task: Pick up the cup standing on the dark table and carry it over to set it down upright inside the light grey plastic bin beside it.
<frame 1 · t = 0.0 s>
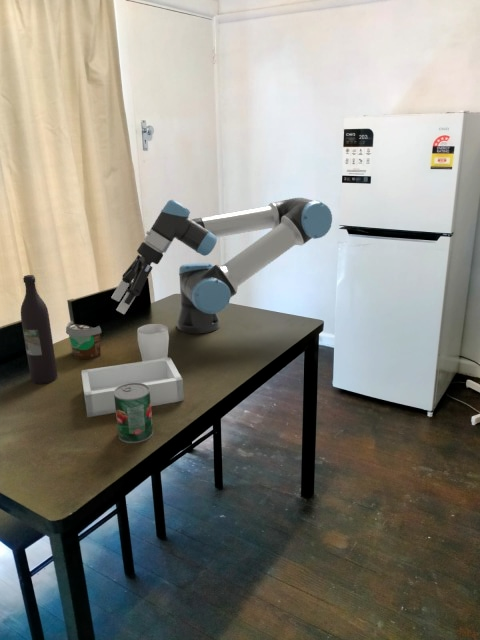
hand: (117, 305, 158), 15 cm above the table, tool tilted 35°, fingers open, 13 cm apart
wine bottle: (44, 379, 144), on the table
food container: (82, 357, 159), on the table
canned tomato: (135, 434, 117), on the table
cup: (155, 367, 151), on the table
bin: (132, 395, 134), on the table
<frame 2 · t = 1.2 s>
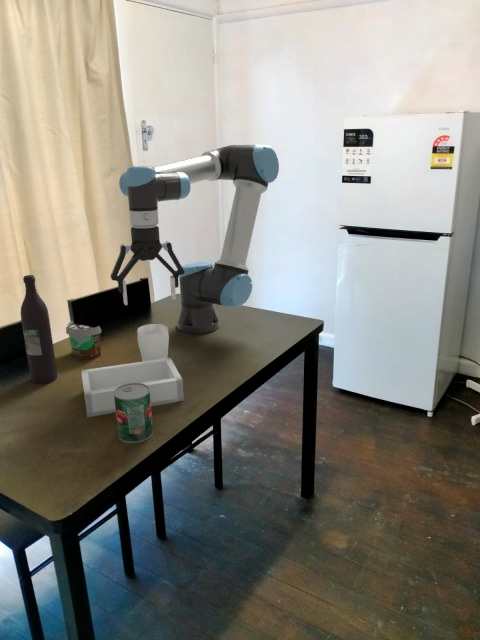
hand: (149, 301, 145), 20 cm above the table, tool pointing down, fingers open, 13 cm apart
nothing on the table moved.
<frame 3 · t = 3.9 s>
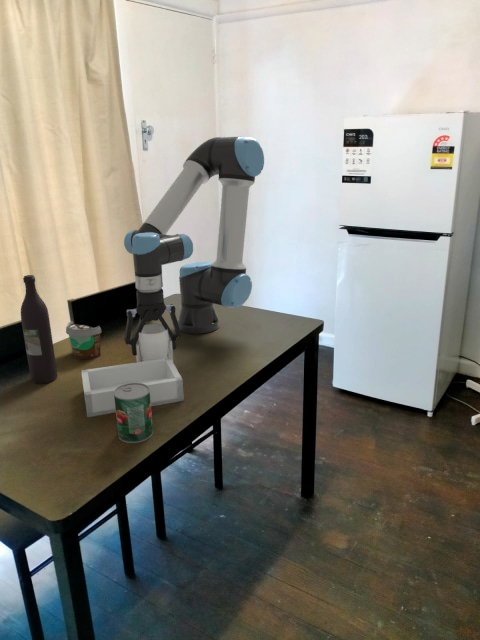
hand: (155, 362, 151), 1 cm above the table, tool pointing down, fingers closed on cup, 9 cm apart
cup: (155, 367, 151), on the table, touching gripper
everything else where it was.
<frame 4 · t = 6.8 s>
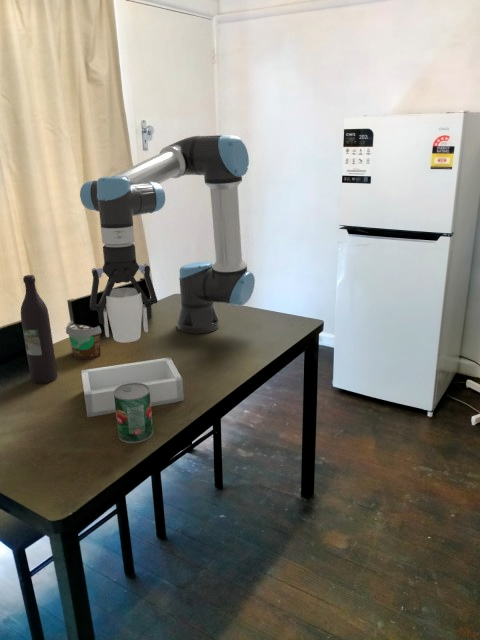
hand: (126, 332, 129), 18 cm above the table, tool pointing down, fingers closed on cup, 9 cm apart
cup: (127, 338, 129), point 16 cm above the table, touching gripper
everything else where it was.
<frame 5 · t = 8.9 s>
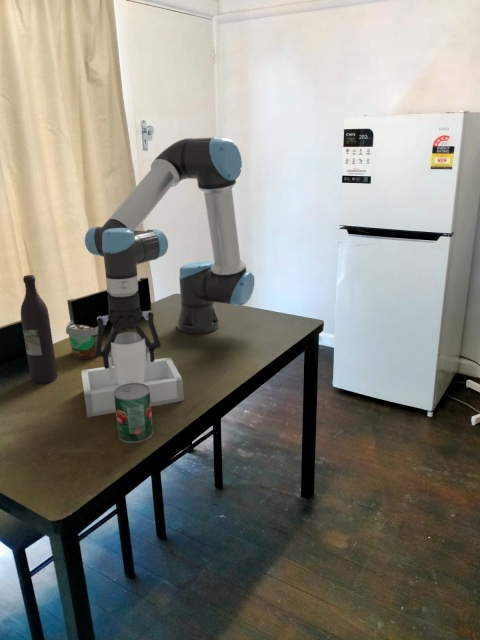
hand: (130, 376, 132), 6 cm above the table, tool pointing down, fingers closed on cup, 9 cm apart
cup: (131, 381, 133), point 4 cm above the table, touching gripper
everything else where it was.
when the fingers open (4 cm above the table, at t = 10.2 s): cup drops 1 cm, resting on bin.
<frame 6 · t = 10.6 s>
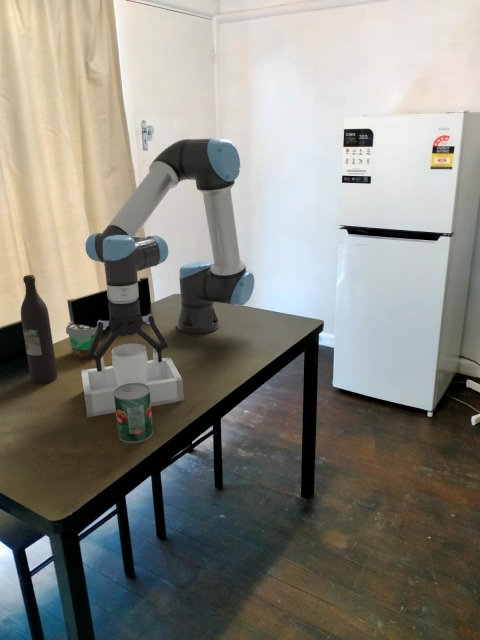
hand: (131, 377, 133), 5 cm above the table, tool pointing down, fingers open, 13 cm apart
cup: (133, 392, 134), point 1 cm above the table, touching bin
everything else where it was.
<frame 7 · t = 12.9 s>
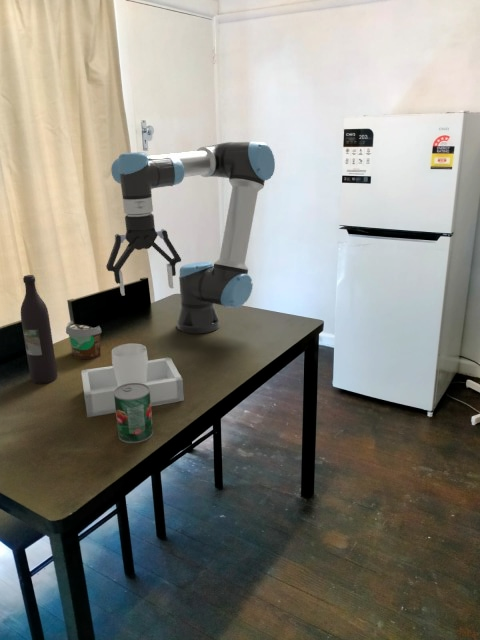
hand: (147, 290, 142), 24 cm above the table, tool pointing down, fingers open, 13 cm apart
nothing on the table moved.
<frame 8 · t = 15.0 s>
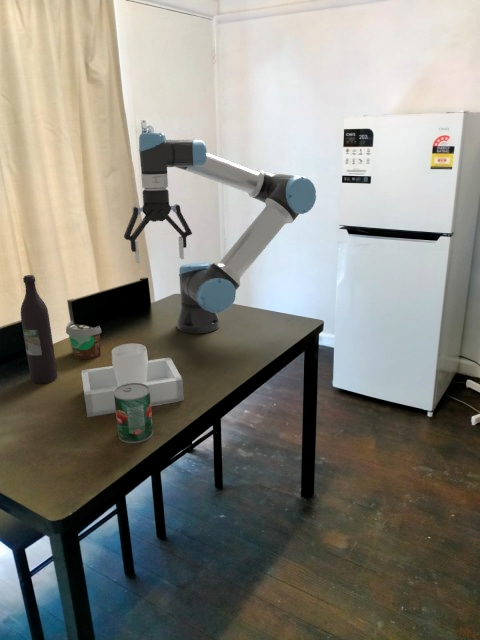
hand: (160, 260, 156), 29 cm above the table, tool pointing down, fingers open, 13 cm apart
nothing on the table moved.
at the end: cup inside the target area on the bin (0.2 cm from its centre), point 0.8 cm above the bin's base; cup tilted 0°; the gripper is holding nothing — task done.
